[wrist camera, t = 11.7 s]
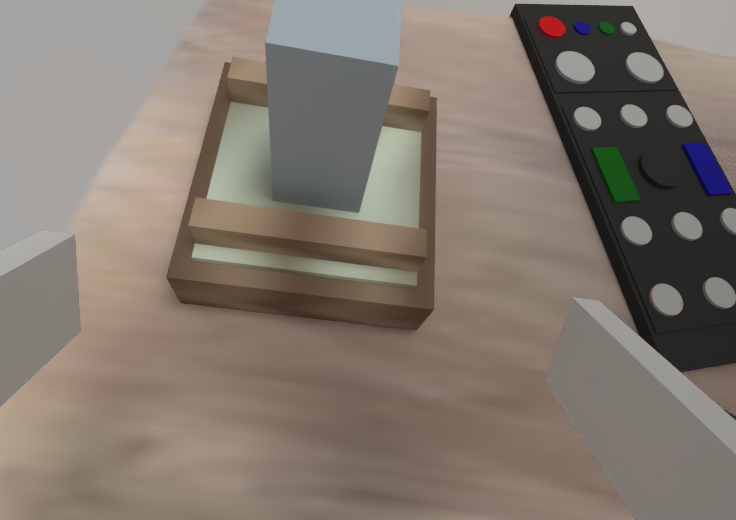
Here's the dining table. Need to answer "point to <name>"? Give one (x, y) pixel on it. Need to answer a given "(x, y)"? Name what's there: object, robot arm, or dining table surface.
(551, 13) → the remote control
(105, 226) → the dining table surface
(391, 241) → the wooden tray
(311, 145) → the slate block
